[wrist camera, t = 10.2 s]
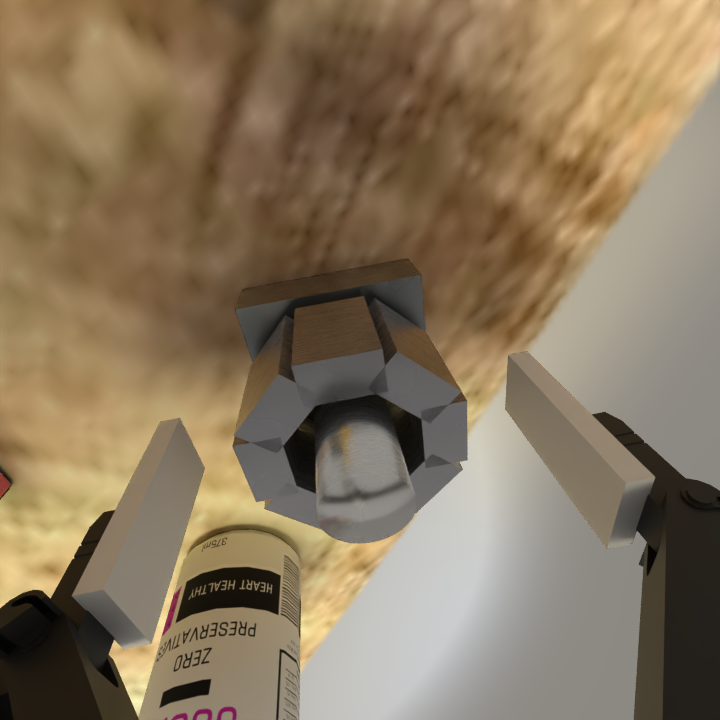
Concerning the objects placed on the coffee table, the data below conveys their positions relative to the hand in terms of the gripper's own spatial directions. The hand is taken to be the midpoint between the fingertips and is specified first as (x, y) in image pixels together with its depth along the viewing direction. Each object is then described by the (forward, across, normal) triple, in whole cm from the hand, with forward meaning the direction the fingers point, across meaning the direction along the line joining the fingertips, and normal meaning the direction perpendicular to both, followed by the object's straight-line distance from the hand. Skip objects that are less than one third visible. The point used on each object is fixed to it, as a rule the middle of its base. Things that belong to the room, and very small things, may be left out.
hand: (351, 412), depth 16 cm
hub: (+2, 0, 0) cm, 2 cm away
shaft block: (+6, 0, 0) cm, 6 cm away
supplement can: (+6, -10, -16) cm, 20 cm away
